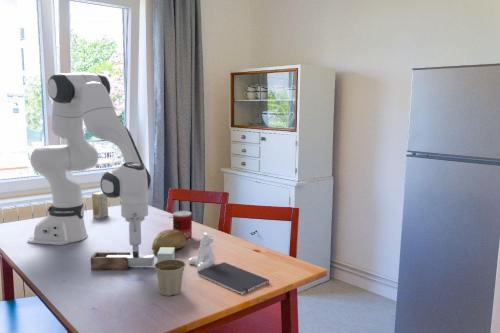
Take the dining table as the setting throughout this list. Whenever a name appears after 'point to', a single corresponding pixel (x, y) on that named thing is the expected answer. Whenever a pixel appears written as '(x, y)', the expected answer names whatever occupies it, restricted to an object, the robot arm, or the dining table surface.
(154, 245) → the bread roll
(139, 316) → the dining table surface
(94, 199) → the skincare box
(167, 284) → the flower pot
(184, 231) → the canned food
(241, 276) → the notebook
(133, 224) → the robot arm
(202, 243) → the sitting furry creature
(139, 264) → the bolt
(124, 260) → the open wooden box
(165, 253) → the pale green block
